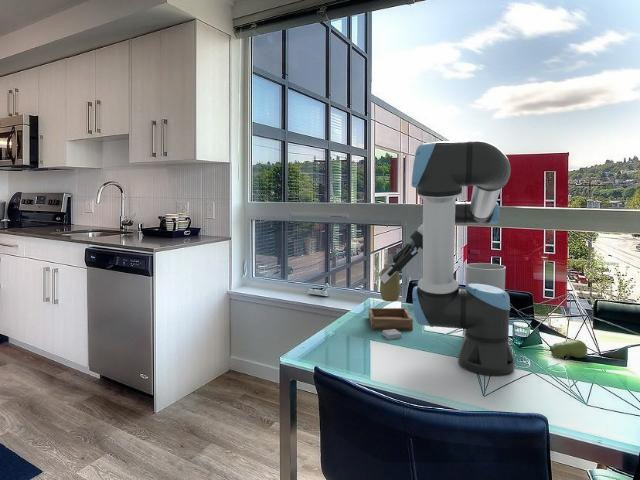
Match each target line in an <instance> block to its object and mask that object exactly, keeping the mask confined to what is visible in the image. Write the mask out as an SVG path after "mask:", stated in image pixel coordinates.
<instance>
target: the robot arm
mask: <svg viewBox="0 0 640 480" xmlns="http://www.w3.org/2000/svg"><path fill="white" fill-rule="evenodd" d="M412 167H413V168H412V173H411V174H412V175H411V187H412V188H415V189H417V190H416V194H417V196H419V197H420V198H421V199H422V223H421V225H419V226H418V228H417V230H415V231H414V232H413V233H412V234H410V235H409V238H410V240H411V242H410V243H405V245H404V246H403V247H402V248H401V249H400V250H399V251H398V252H397V253H396V254H395V255H394V256H392V258H393V263H395V264H394V265H391V267H390V268H389V269H388V270H387V271H386V272H385V273H384V274H383V275H382V276H381V272H382V270H383V269H384V267H383V268H382V269H381V270H380V271H379V272H378V273H377V276H378V277H379V278H378V279H379V280H380V282H381V281H382V282H383V283H384V284H385V283H386V282H387V281H388V280H389V279H390V278H391V277H392V276H393V275H394V274H395V273H396V272H397V271H399V272H401V270H402V269H403V268H405V266H406V265H408V263H410V261H411V260H413V258H414V257H415V256H416V255H418V254H419V251H418V250H419V249H421V250H422V277H421V278H419V280H418V281H417V285H416V286H414V287H413V288H412V307H413V314H414V318H415V321H416V322H417V324H419V325H421V326H425V327H430V328H434V327H435V328H448V329H461V330H464V335H465V337H464V339H463V342H462V344H461V347H460V349H459V352H458V358H457V359H458V361H457V362H458V364H459V366H461V367H462V368H463V369H465V370H467V371H469V372H472V373H475V374H479V375H484V376H492V377H493V376H495V377H496V376H499V377H500V376H506V375H509V374H511V373H513V372H514V371H515V359H514V355H513V352H512V349H511V346H510V343H509V335H510V330H509V328H510V327H509V326H510V311H511V303H510V301H511V300H510V299H511V298H510V295H509V293H508V292H507V291H504V290H502V289H500V288H497V287H494V286H490V285H485V284H476V283H475V284H472V283H471V284H468V285H467V287H466V286H465V288H459V287H460V285H459V282H458V280H456V279H455V278H454V277H455V276H454V275H455V273H454V272H455V271H454V268H455V238H456V237H455V236H456V235H455V234H456V233H455V232H456V231H455V230H456V224H457V225H459V224H462V225H463V224H467V225H469V224H472V225H474V224H475V225H489V224H490V225H493V224H494V225H495V224H497V223H498V222H499V219H500V204H499V203H498V198H499V196H500V193H501V191H502V189H503V188H504V187H505V186H506V185H507V183H508V182H509V179H510V177H511V171H512V170H511V163H510V161H509V158H508V157H507V155H506V154H505V153H504V152H503V151H502V150H501V149H500V148H499V147H497V146H496V145H494V144H492V143H491V142H488V141H484V140H479V139H478V140H477V139H475V140H473V139H472V140H457V141H456V140H455V141H452V140H451V141H433V142H425V143H421V144H419V145H418V146H417V148H416V150H415V154H414V160H413V166H412ZM463 187H472V192H471V199H470V201H461V202H459V201H457V202H456V200H457V198H458V197H460V195H462V192H463Z"/></svg>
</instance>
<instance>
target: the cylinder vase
mask: <svg viewBox="0 0 640 480" xmlns="http://www.w3.org/2000/svg"><path fill="white" fill-rule="evenodd" d="M465 268H466V269H465V270H466V271H465V288H466V287H467V285H468V284H471V283H472V284H475V283H476V284H485V285H490V286H494V287H497V288H500V289H502V290H504V291H505V290H506V268H507V267H506V266H505V265H501V264H498V263H486V262H477V263H475V262H474V263H467V264H466V266H465Z"/></svg>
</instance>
